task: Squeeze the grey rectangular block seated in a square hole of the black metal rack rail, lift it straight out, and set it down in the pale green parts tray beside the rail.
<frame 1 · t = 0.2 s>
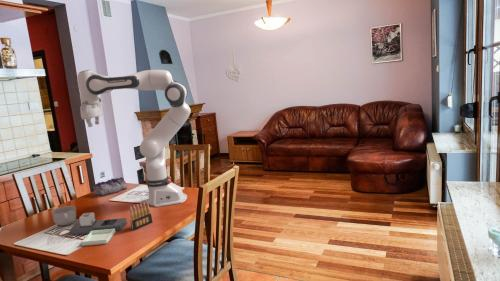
hand: (94, 125, 187), 48 cm above the table, fingers open, 8 cm apart
geode: (111, 192, 221), on the table
rail: (99, 229, 165), on the table
tray: (99, 239, 154), on the table
ammunition clip: (142, 226, 165), on the table
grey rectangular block: (89, 230, 165), resting in rail
teacup: (66, 224, 174), on the table
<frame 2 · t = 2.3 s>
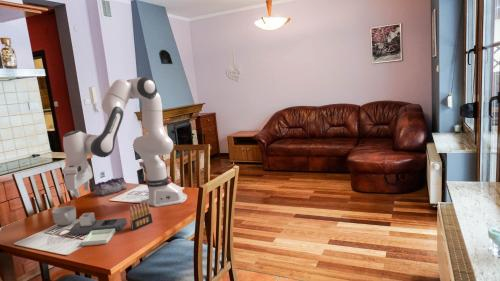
hand: (82, 193, 161), 19 cm above the table, fingers open, 8 cm apart
nothing on the table moved.
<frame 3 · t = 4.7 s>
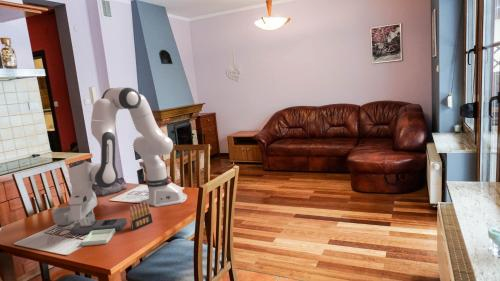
hand: (87, 221, 164), 5 cm above the table, fingers closed on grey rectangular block, 5 cm apart
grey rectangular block: (89, 230, 165), resting in rail, touching gripper
everything else where it was.
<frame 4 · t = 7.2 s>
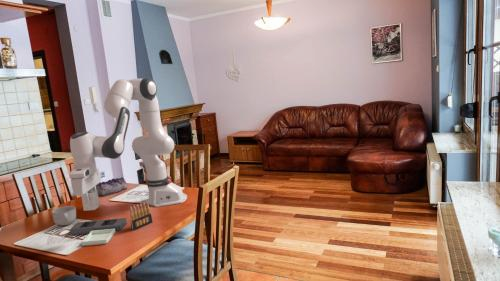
hand: (90, 198, 151), 20 cm above the table, fingers closed on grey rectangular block, 5 cm apart
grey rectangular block: (91, 208, 152), point 15 cm above the table, touching gripper
everything else where it was.
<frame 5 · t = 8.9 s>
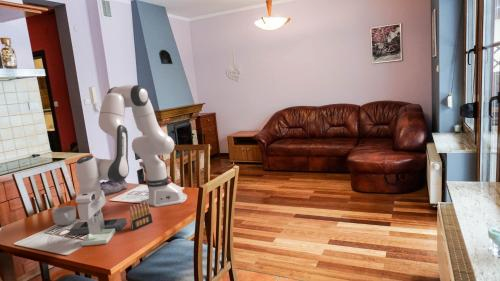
hand: (95, 221, 152), 9 cm above the table, fingers closed on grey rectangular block, 5 cm apart
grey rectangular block: (97, 230, 153), point 4 cm above the table, touching gripper
everything else where it was.
when the fingers open (7 cm above the table, at t = 10.1 s): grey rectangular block drops 2 cm, resting on tray.
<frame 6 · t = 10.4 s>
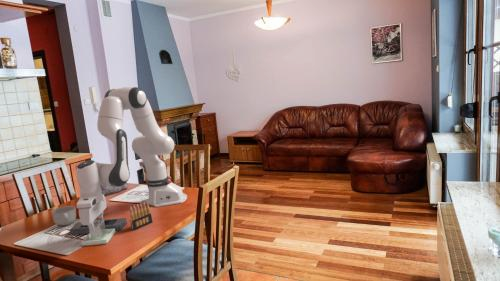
hand: (96, 225, 153), 7 cm above the table, fingers open, 8 cm apart
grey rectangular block: (99, 238, 154), resting on tray
everything else where it was.
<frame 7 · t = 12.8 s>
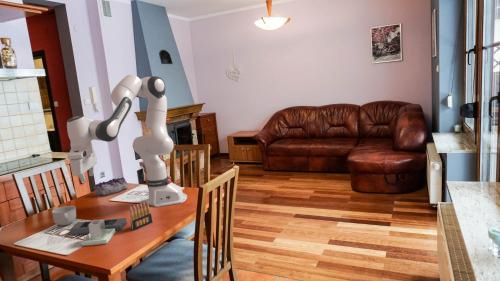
hand: (88, 178, 161), 26 cm above the table, fingers open, 8 cm apart
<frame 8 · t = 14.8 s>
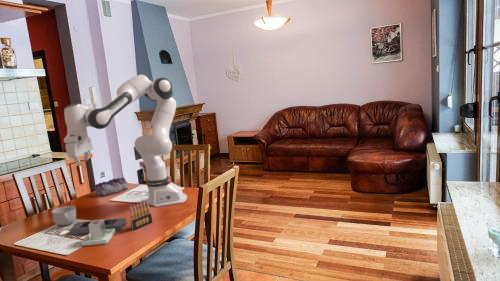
hand: (82, 162, 172), 31 cm above the table, fingers open, 8 cm apart
at the end: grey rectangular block inside the target area on the tray (0.1 cm from its centre), point 0.4 cm above the tray's base; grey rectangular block touching tray; the gripper is holding nothing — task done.
